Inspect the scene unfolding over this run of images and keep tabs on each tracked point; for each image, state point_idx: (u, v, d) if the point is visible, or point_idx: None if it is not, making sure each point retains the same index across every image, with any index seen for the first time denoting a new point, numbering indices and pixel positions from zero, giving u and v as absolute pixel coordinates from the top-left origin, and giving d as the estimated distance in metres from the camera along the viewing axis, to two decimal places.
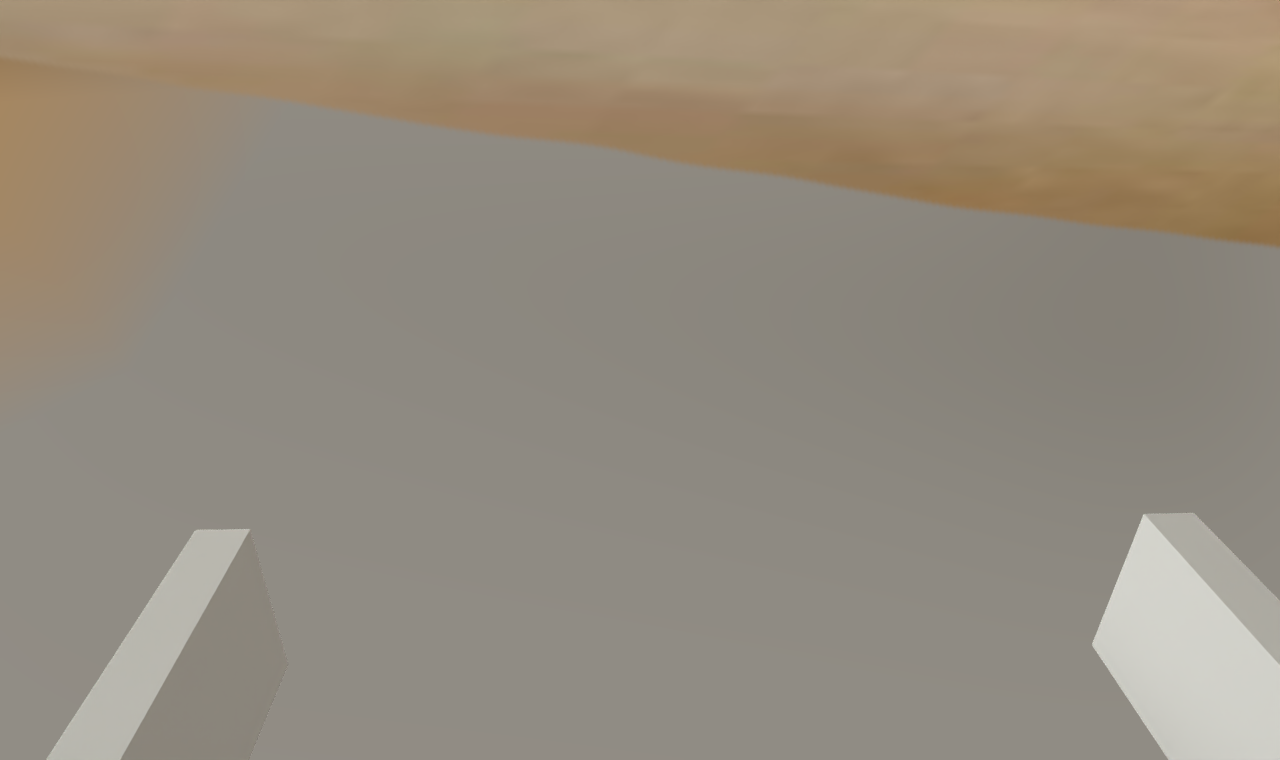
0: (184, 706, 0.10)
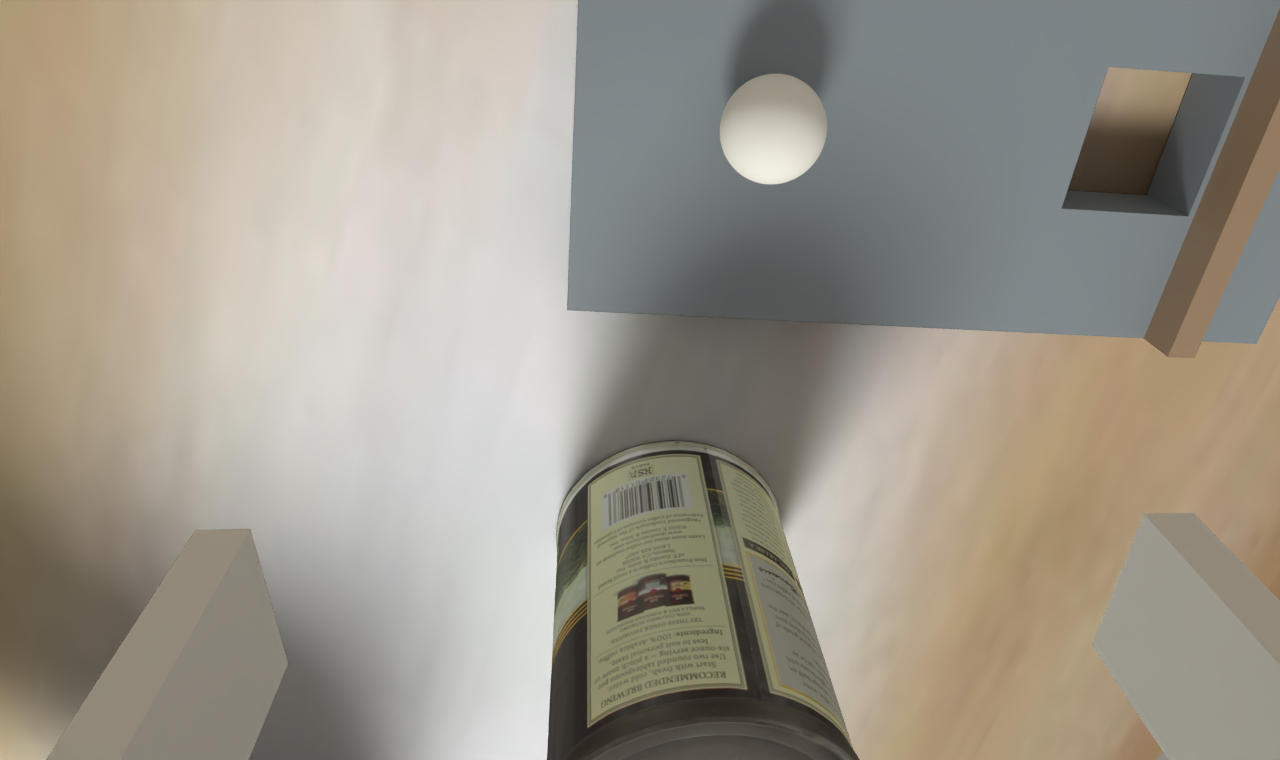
0: (184, 706, 0.10)
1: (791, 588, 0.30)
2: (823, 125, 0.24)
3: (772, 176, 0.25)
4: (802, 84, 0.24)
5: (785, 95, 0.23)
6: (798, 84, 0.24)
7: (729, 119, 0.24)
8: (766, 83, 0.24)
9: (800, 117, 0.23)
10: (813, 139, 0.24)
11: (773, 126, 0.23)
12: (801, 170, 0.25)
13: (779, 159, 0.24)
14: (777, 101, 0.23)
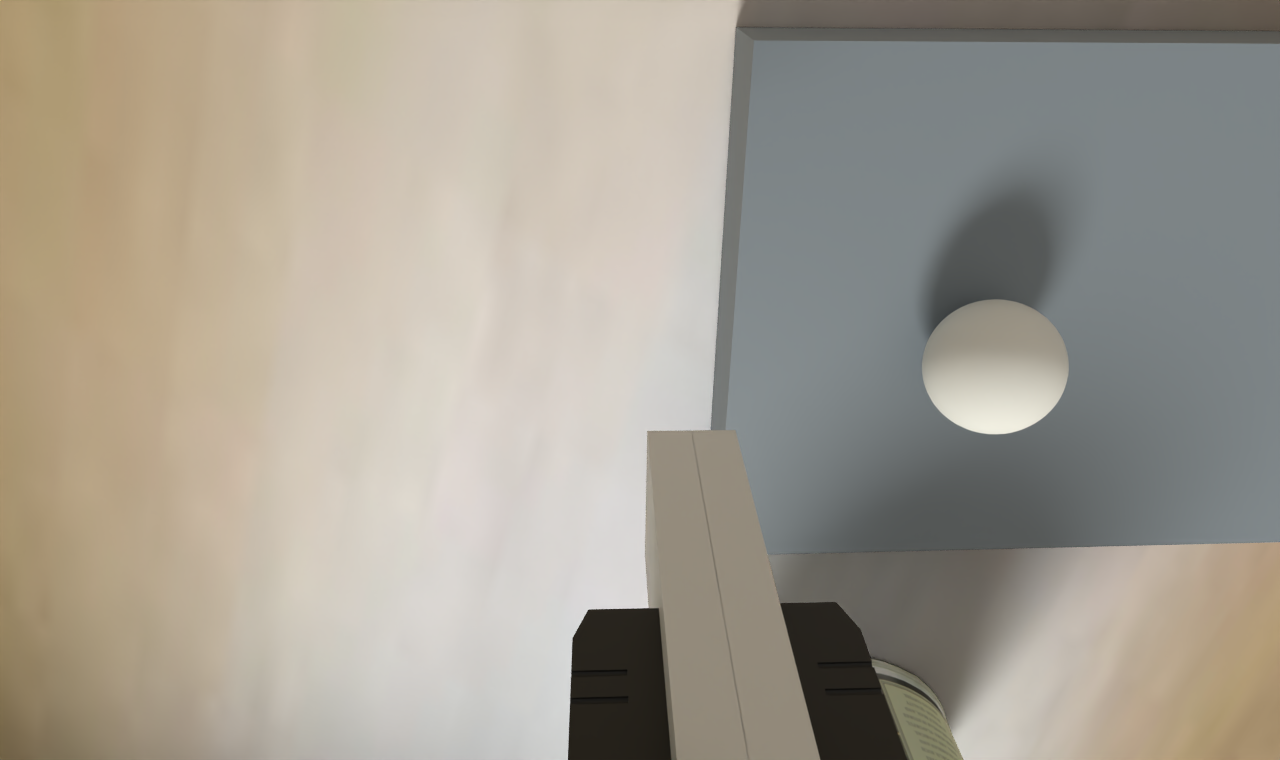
0: None
1: None
2: (1067, 368, 0.19)
3: (1000, 431, 0.19)
4: (1039, 319, 0.19)
5: (1024, 341, 0.18)
6: (1035, 321, 0.19)
7: (945, 366, 0.19)
8: (994, 322, 0.19)
9: (1045, 368, 0.18)
10: (1059, 390, 0.19)
11: (1012, 383, 0.18)
12: (1037, 421, 0.19)
13: (1016, 418, 0.19)
14: (1014, 350, 0.18)
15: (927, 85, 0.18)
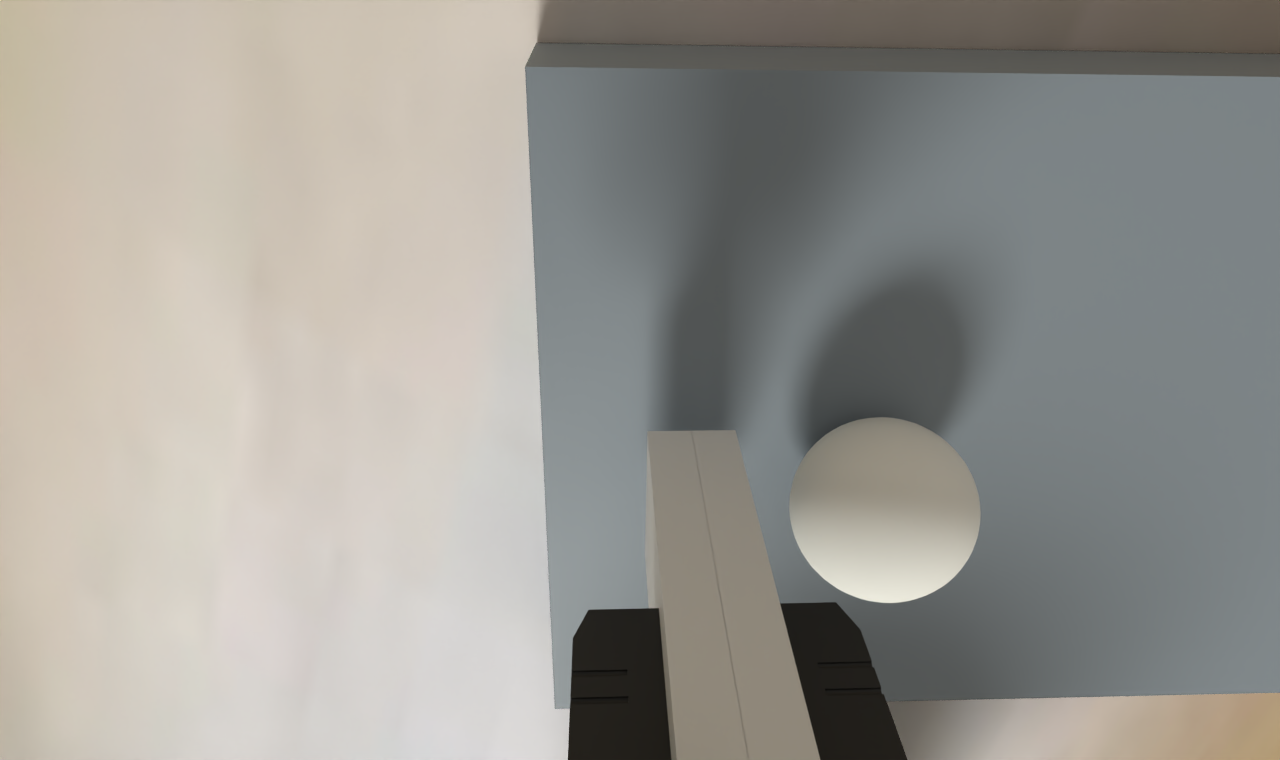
0: None
1: None
2: (977, 521, 0.14)
3: None
4: (938, 454, 0.13)
5: (912, 490, 0.13)
6: (932, 458, 0.13)
7: (810, 515, 0.14)
8: (874, 460, 0.13)
9: (941, 528, 0.13)
10: (963, 554, 0.13)
11: (894, 549, 0.13)
12: (938, 587, 0.14)
13: (903, 591, 0.13)
14: (899, 503, 0.13)
15: (779, 131, 0.13)
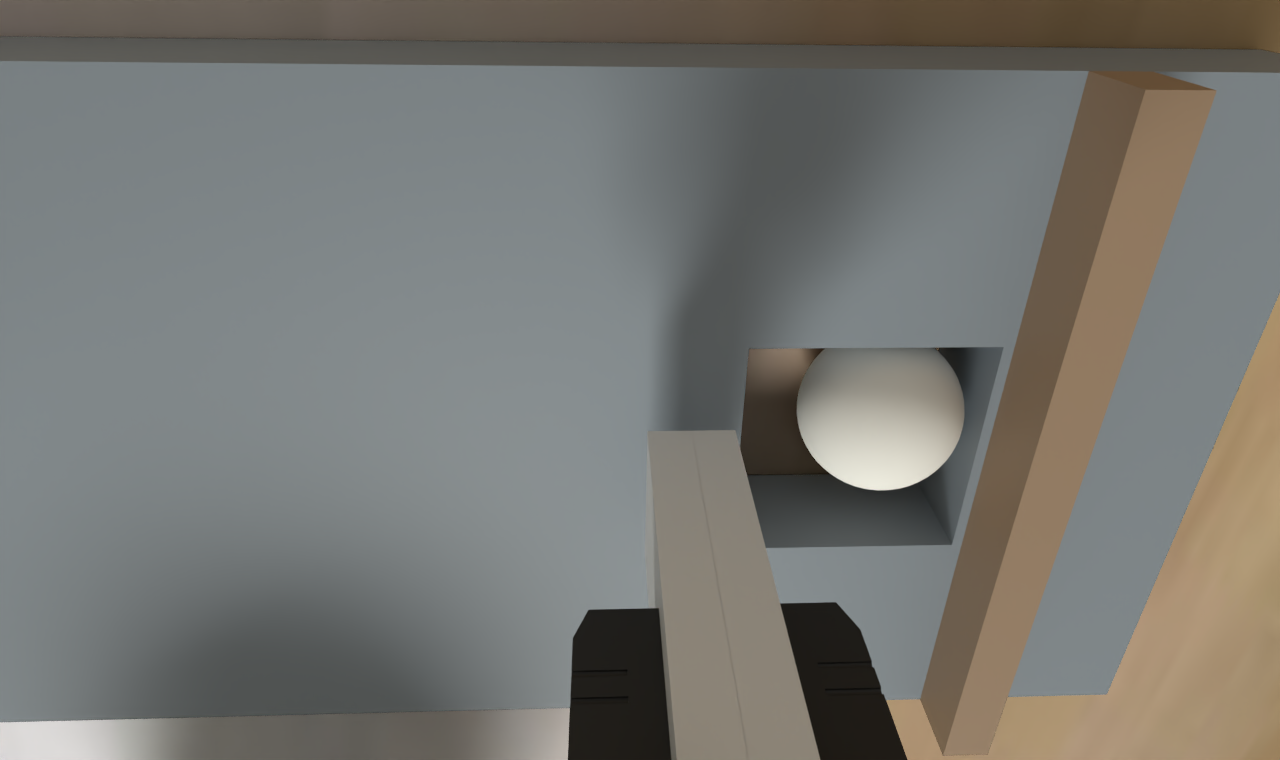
0: None
1: None
2: None
3: None
4: None
5: None
6: None
7: None
8: None
9: None
10: None
11: None
12: None
13: None
14: None
15: None
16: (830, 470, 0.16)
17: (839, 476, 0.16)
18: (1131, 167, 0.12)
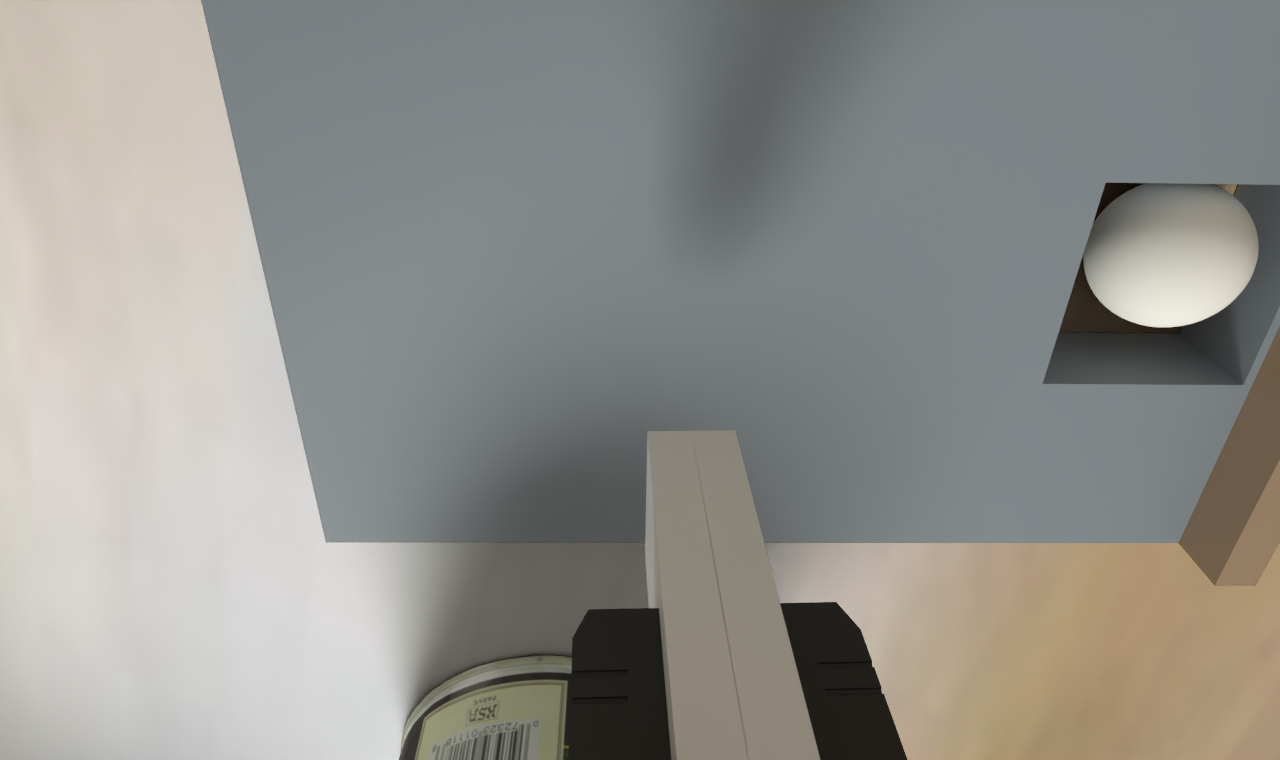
0: None
1: None
2: None
3: None
4: None
5: None
6: None
7: None
8: None
9: None
10: None
11: None
12: None
13: None
14: None
15: None
16: (1108, 299, 0.18)
17: (1116, 305, 0.18)
18: None
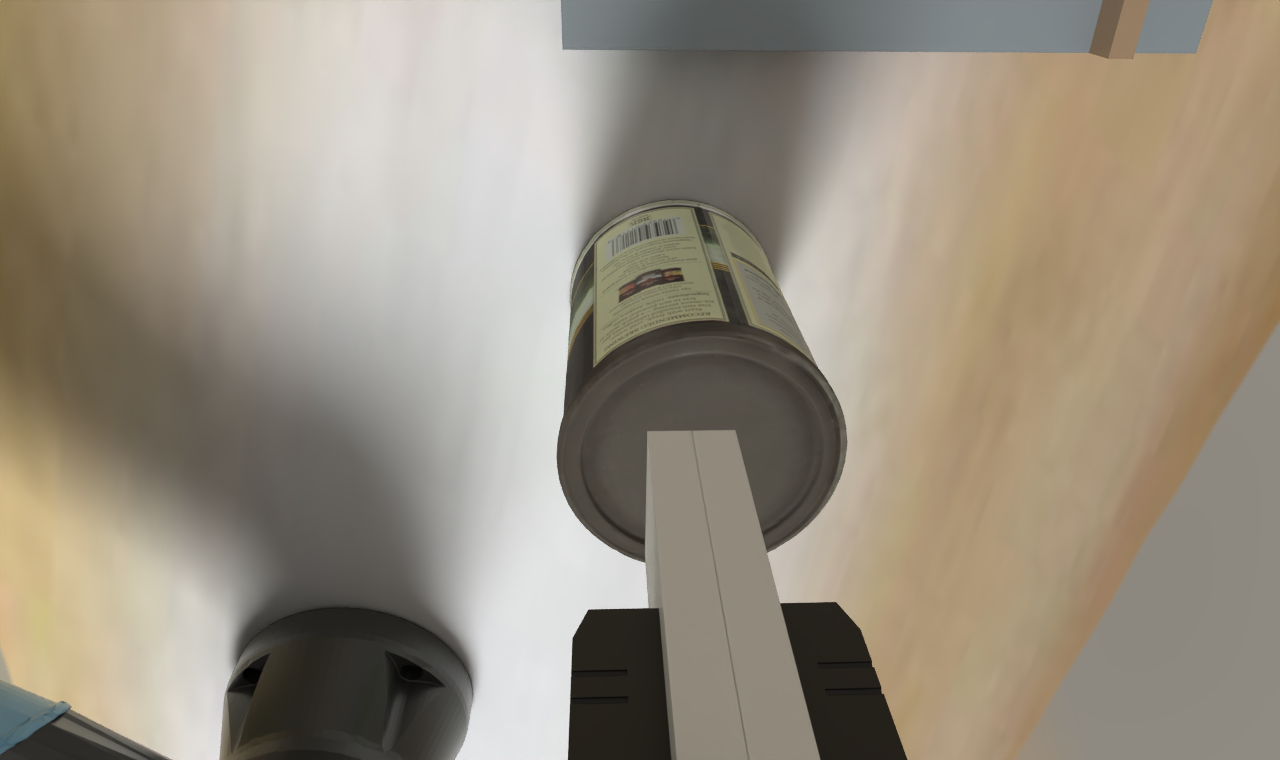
0: None
1: (775, 291, 0.34)
2: None
3: None
4: None
5: None
6: None
7: None
8: None
9: None
10: None
11: None
12: None
13: None
14: None
15: None
16: None
17: None
18: None
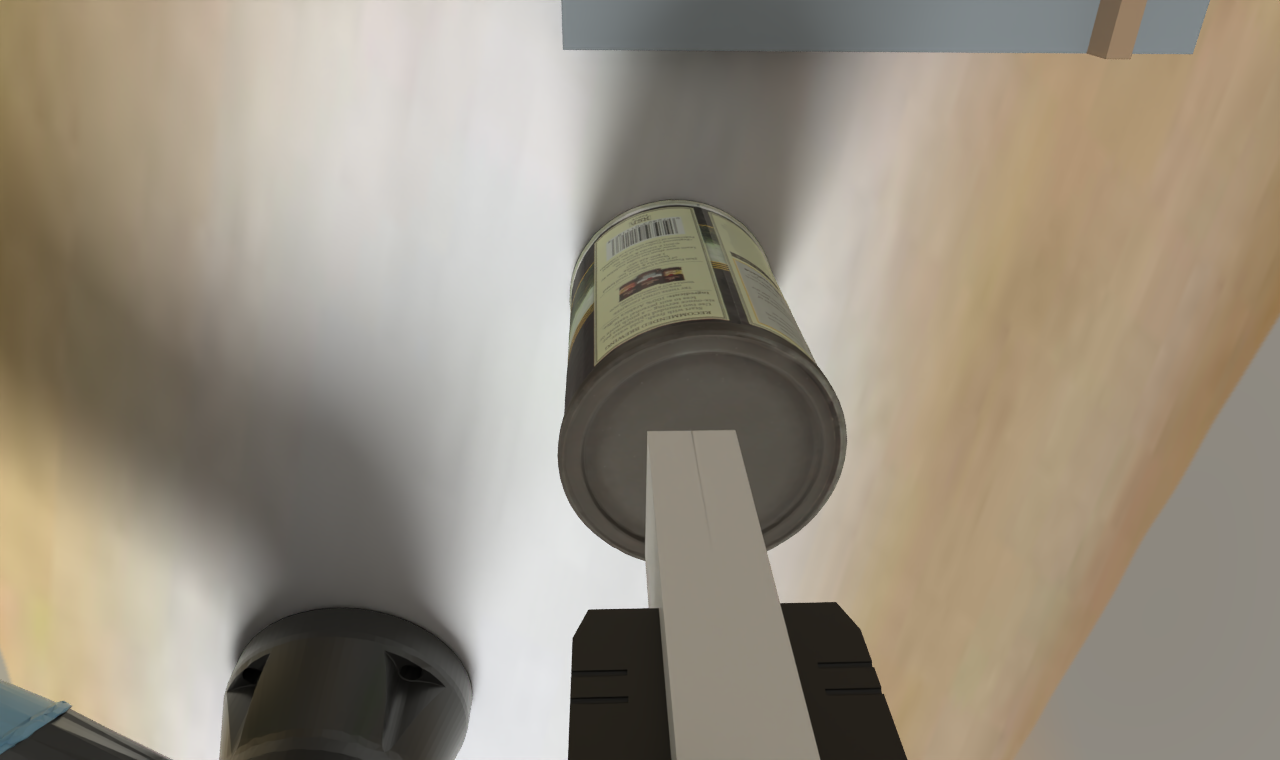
0: None
1: (775, 290, 0.34)
2: None
3: None
4: None
5: None
6: None
7: None
8: None
9: None
10: None
11: None
12: None
13: None
14: None
15: None
16: None
17: None
18: None
